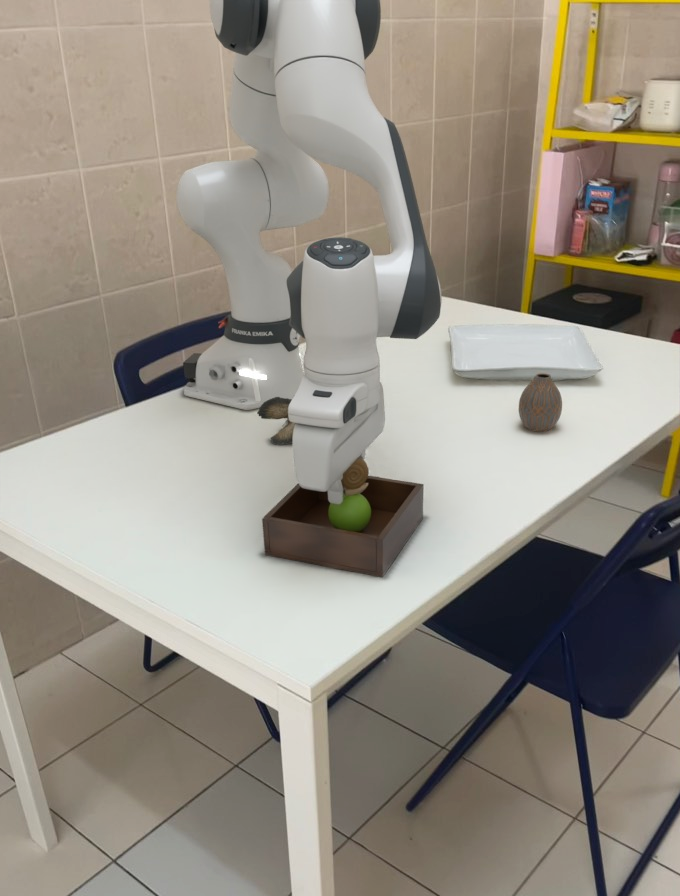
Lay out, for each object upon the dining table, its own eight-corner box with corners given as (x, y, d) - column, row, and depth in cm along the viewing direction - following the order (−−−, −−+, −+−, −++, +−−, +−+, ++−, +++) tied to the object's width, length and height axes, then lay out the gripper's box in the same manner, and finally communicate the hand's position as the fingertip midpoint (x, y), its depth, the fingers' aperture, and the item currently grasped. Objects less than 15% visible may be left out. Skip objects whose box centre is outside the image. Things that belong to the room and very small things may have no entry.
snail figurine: (317, 525, 114) (312, 440, 108) (364, 518, 115) (362, 434, 109) (327, 545, 109) (324, 458, 103) (376, 537, 111) (376, 450, 105)
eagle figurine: (282, 412, 147) (248, 420, 139) (303, 381, 143) (269, 387, 135) (312, 444, 145) (278, 454, 138) (334, 414, 141) (300, 422, 134)
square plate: (446, 341, 184) (447, 323, 182) (578, 342, 183) (580, 323, 181) (451, 386, 160) (452, 365, 158) (602, 387, 159) (605, 366, 157)
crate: (264, 554, 109) (261, 518, 106) (315, 500, 121) (314, 467, 119) (382, 577, 104) (382, 540, 101) (423, 518, 116) (423, 483, 114)
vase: (559, 436, 140) (565, 384, 135) (515, 433, 141) (519, 381, 136) (560, 420, 145) (565, 369, 141) (518, 417, 147) (522, 367, 142)
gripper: (350, 357, 112) (352, 455, 119) (280, 413, 95) (287, 524, 102) (397, 362, 110) (396, 462, 117) (333, 420, 93) (337, 533, 100)
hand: (345, 492), depth 109 cm, fingers open, 4 cm apart
